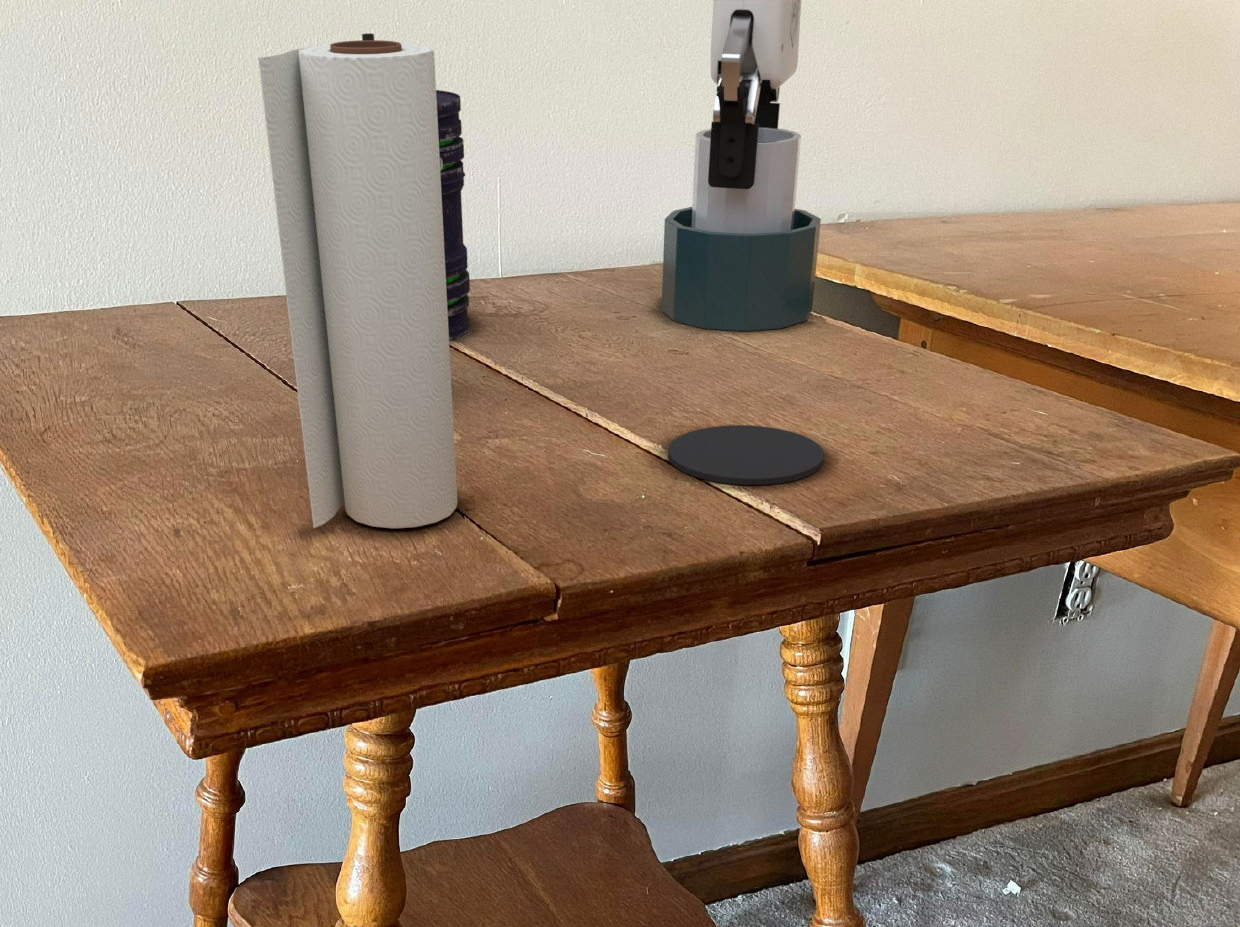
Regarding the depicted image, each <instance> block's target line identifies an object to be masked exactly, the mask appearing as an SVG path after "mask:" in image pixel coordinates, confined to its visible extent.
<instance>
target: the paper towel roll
mask: <svg viewBox="0 0 1240 927" xmlns="http://www.w3.org/2000/svg"><path fill="white" fill-rule="evenodd" d="M257 59H258V67H259V75H260V76H259V77H260V84H261V85H260V86H261V92H262V101H263V109H264V118H265V127H266V135H267V144H268V151H269V161H270V168H271V178H272V186H273V195H274V203H275V211H276V221H277V228H278V237H279V238H278V239H279V246H280V254H281V262H282V271H283V279H284V289H285V298H286V304H287V305H286V306H287V315H288V321H289V331H290V340H291V348H292V355H293V356H292V358H293V365H294V373H295V381H296V389H297V390H296V391H297V400H298V406H299V415H300V424H301V432H302V440H303V449H304V457H305V458H304V459H305V466H306V475H307V484H308V491H309V492H308V493H309V500H310V510H311V517H312V526H313V527H312V528H313V529H316V528H318V527H321V526H323V525H324V524H326V523H328V522H329V521H330V520H331V519H333V518H334V517H335V516H336V514H337V512H338V511H339V510H340V509H341V507H343V506H344V509H345V512H346V515H347V516H349V518H351V519H352V520H354V521H355V522H357V523H360V524H364V525H366V526H369V527H374V528H375V527H376V528H384V529H385V528H386V529H406V528H418V527H423V526H427V525H431V524H436V523H438V522H440V521H442V520H444V519H446V518H448V517H450V516H451V515H452V514H453V513H454V511H455V510H456V509H457V507H458V487H457V469H456V468H457V467H456V466H457V465H456V449H455V447H456V446H455V430H454V429H455V428H454V410H453V409H454V408H453V390H452V389H453V388H452V372H451V369H452V368H451V353H450V352H451V351H450V350H451V349H450V340H449V330H448V311H447V292H446V272H445V253H444V234H443V214H442V195H441V176H440V157H439V137H438V118H437V99H436V90H437V83H436V82H437V81H436V63H435V62H436V61H435V50H434V48H433V47H432V46H427V45H421V44H414V43H411V44H410V43H401V42H399V41H394V40H381V39H380V40H377V39H376V40H375V39H374V40H345V41H337V42H333V43H330V44H323V45H317V46H316V45H315V46H308V47H302V48H295V49H291V50H287V51H285V52H282V53H279V54H275V55H273V54H272V55H270V56H269V55H268V56H260V57H258V58H257Z"/></svg>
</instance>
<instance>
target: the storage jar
mask: <svg viewBox="0 0 1240 927" xmlns="http://www.w3.org/2000/svg"><path fill="white" fill-rule="evenodd" d="M436 99H437V118H438V137H439V156H440V157H441V159H442V170H441V171H440V176H441V195H442V214H443V234H444V253H445V272H446V292H447V311H448V330H449V341H451V340H455V339H457V338H460V337H462V336H464V335H466V334H467V333H468V332H469V331H470V329H471V318H470V316H469V314H468V307H469V306H470V297H469V295H468V294H469V292H470V291H471V287H470V286H471V285H470V283H471V282H470V272H469V271H468V270H467V269H468V268H469V267H468V264H469V263H468V248H467V246H466V245H465V243H464V230H463V229H464V228H463V206H462V190H463V188H464V186H465V178H464V177H466V173H465V171H464V161H463V159H464V158H465V145H464V142H465V141H464V138H463V137H462V134H463V131H462V130H463V129H462V128H463V127H462V119H460V112H461V110H462V107H461V106H462V105H461V95H460V94H458V93H456V92H452V91H448V90H441V89H436Z"/></svg>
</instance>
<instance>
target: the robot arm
mask: <svg viewBox="0 0 1240 927" xmlns="http://www.w3.org/2000/svg"><path fill="white" fill-rule="evenodd" d="M712 5H713V6H712V22H711V23H712V24H711V37H710V38H711V40H710V78H711V80H712V82H714V83H715V84H716V85H717V86H716V92H715V100H714V105H713V110H712V111H713V112H712V121H711V124H710V125H711V128H710V129H711V140H710V156H709V173H708V183H709V185H710V186H711V187H718V188H735V189H750V188H751V187H752V186H753V185H754V181H755V168H756V155H757V143H758V130H759V127H768V128H777V129H779V118H780V109H781V108H780V107H781V103H780V102H779V98H780V87H781V86H782V85H783V84H785V83H786V82H787V81H788V80H789V79H790V78H791V77H792V76H793V75H794V74H795V73H796V72H797V69H798V62H799V61H798V60H799V46H800V27H801V14H802V0H713V4H712Z"/></svg>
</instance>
